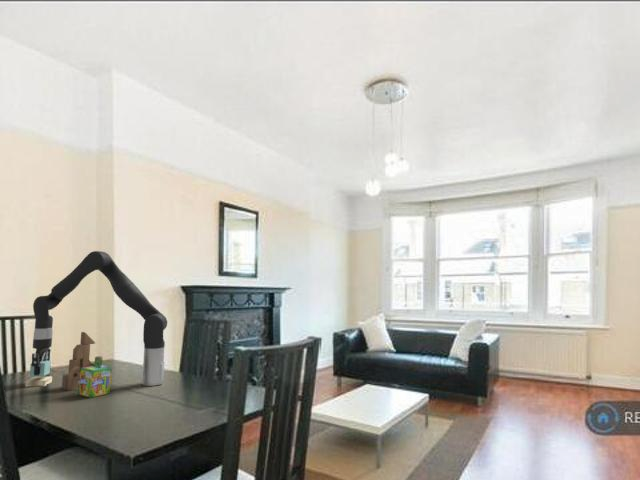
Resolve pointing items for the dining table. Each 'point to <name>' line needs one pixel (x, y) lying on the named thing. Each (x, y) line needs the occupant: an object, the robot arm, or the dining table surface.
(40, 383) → the maple pedestal
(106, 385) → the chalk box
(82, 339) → the wooden toy
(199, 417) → the dining table surface
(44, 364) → the teal cube
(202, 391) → the dining table surface
